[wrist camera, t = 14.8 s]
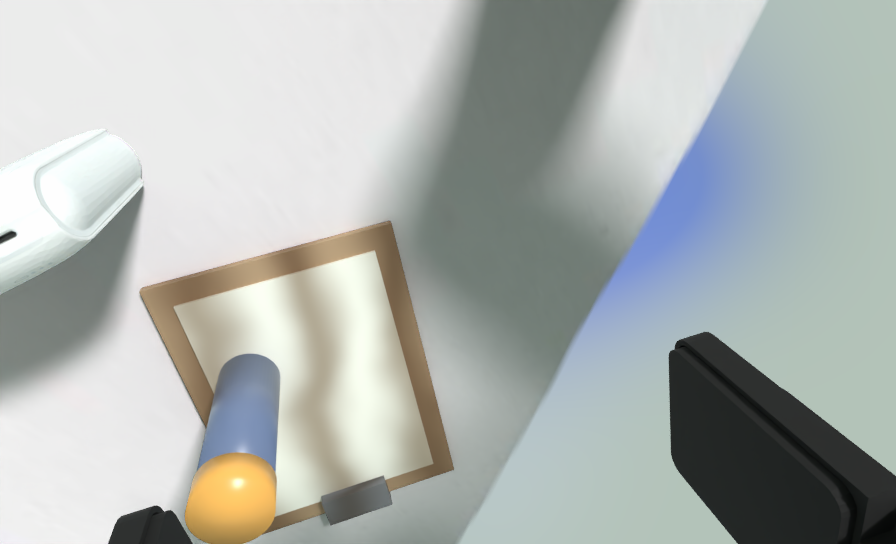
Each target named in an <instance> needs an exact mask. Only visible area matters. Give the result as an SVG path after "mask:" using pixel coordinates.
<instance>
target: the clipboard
mask: <svg viewBox="0 0 896 544" xmlns="http://www.w3.org/2000/svg"><path fill="white" fill-rule="evenodd" d="M140 294H141V296H142V298H143V300H144V302H145V305H146V307H147V309H148V311H149V313H150V315H151V317H152V319H153V321H154V323H155V325H156V327H157V329H158V331H159V333H160V335H161V337H162V339H163V341H164V343H165V345H166V347H167V349H168V351H169V353H170V355H171V357H172V359H173V361H174V363H175V365H176V367H177V369H178V371H179V373H180V375H181V377H182V380H183V382H184V384H185V386H186V388H187V390H188V392H189V394H190V396H191V398H192V400H193V402H194V404H195V406H196V408H197V410H198V412H199V414H200V416H201V418H202V420H203V422H204V424H205V426H206V428H207V425H208V420H209V416H210V412H211V407H212V403H213V398H214V394H215V390H216V385H217V381H218V377H219V373H220V370H221V368H222V367H223V365H224V364H225V363H226V362H227V361H229V360H230V359H232V358H233V357H235V356H238V355H242V354H259V355H262V356H265V357H267V358H269V359H270V360H271V361H273V362H274V363H275V364H276V366H277V367H278V369H279V372H280V397H279V416H278V435H277V454H276V477H277V492H276V512H275V517H274V520H273V522H272V524H271V525H270V527H269V528H268V529H267V530H266V531H265V532H264V533H263V534H265V533H268V532H271V531H274V530H277V529H280V528H283V527H286V526H289V525H292V524H295V523H298V522H301V521H304V520H306V519H309V518H312V517H315V516H318V515H321V514H324V513H326V515H327V518H328V520H329V523H330V525H333V524H336V523H339V522H342V521H345V520H348V519H351V518H354V517H357V516H360V515H363V514H365V513H368V512H371V511H374V510H377V509H380V508H383V507H386V506H389V505H392V500H391V495H390V492H389V491H392V490H395V489H398V488H401V487H404V486H407V485H410V484H413V483H416V482H419V481H422V480H425V479H428V478H431V477H434V476H437V475H440V474H443V473H446V472H449V471H452V470H454V467H453V463H452V459H451V455H450V451H449V448H448V444H447V440H446V436H445V432H444V428H443V424H442V420H441V416H440V412H439V408H438V404H437V400H436V397H435V393H434V389H433V385H432V381H431V377H430V373H429V369H428V365H427V361H426V357H425V353H424V349H423V346H422V342H421V338H420V334H419V330H418V326H417V322H416V318H415V314H414V310H413V306H412V302H411V298H410V295H409V291H408V287H407V283H406V279H405V275H404V271H403V267H402V263H401V259H400V255H399V251H398V248H397V244H396V240H395V236H394V232H393V228H392V224H391V222H390V221H387V222H383V223H380V224H376V225H372V226H368V227H365V228H361V229H357V230H354V231H350V232H346V233H343V234H339V235H335V236H332V237H328V238H324V239H320V240H317V241H313V242H309V243H306V244H302V245H298V246H295V247H291V248H287V249H283V250H280V251H276V252H272V253H269V254H265V255H261V256H258V257H254V258H250V259H247V260H243V261H239V262H235V263H232V264H228V265H224V266H221V267H217V268H213V269H210V270H206V271H202V272H199V273H195V274H191V275H187V276H184V277H180V278H176V279H173V280H169V281H165V282H162V283H158V284H154V285H151V286H147V287H143V288H141V290H140Z"/></svg>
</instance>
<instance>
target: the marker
mask: <svg viewBox="0 0 896 544" xmlns="http://www.w3.org/2000/svg"><path fill="white" fill-rule="evenodd" d="M279 397H280V372H279V369H278V367H277V366H276V364H275V363H274V362H273V361H271V360H270V359H269V358H267V357H265V356H262V355H259V354H242V355H238V356H235V357H233V358H232V359H230V360H229V361H227V362H226V363H225V364H224V365H223V367H222V368H221V370H220V373H219V377H218V381H217V385H216V390H215V394H214V398H213V403H212V407H211V412H210V416H209V420H208V425H207V429H206V433H205V438H204V442H203V446H202V451H201V455H200V460H199V464H198V468H197V472H196V473H195V475H194V478H193V481H192V485H191V489H190V494H189V498H188V502H187V506H186V511H185V521H186V525H187V527H188V529H189V530H190V532H191V533H192V534H193V535H194V536H196V537H197V538H198V539H200V540H202V541H204V542H206V543H209V544H243V543H246V542H249V541H251V540H253V539H255V538H257V537H259V536H260V535H262V534H263V533H264V532H265V531H266V530H267V529H268V528H269V527H270V525H271V524H272V522H273V520H274V517H275V512H276V492H277V477H276V454H277V435H278V416H279Z"/></svg>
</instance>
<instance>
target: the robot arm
mask: <svg viewBox="0 0 896 544" xmlns="http://www.w3.org/2000/svg"><path fill="white" fill-rule="evenodd" d="M669 383H670V384H669V386H670V427H671V428H670V429H671V455H672V459H673V462H674V464H675V466H676V468H677V470H678V471H679V473H680V474H681V475H682V476H683V477H684V479H685V480H686V481H687V482H688V484H689V485H690V486H691V487H692V488H693V490H694V491H695V492H696V493H697V495H698V496H699V497H700V498H701V499H702V501H703V502H704V503H705V504H706V506H707V507H708V508H709V509H710V510H711V512H712V513H713V514H714V515H715V516H716V518H717V519H718V520H719V521H720V523H721V524H722V525H723V526H724V527H725V529H726V530H727V531H728V532H729V534H730V535H731V536H732V537H733V538H734V540H735V541H736V542H737V543H738V544H896V476H895V475H893V474H892V473H891V472H889V471H888V470H887V469H886V468H885V467H883V466H882V465H881V464H880V463H878V462H877V461H876V460H874V459H873V458H872V457H871V456H869V455H868V454H867V453H865V452H864V451H863V450H861V449H860V448H859V447H858V446H856V445H855V444H854V443H852V442H851V441H850V440H848V439H847V438H846V437H845V436H844V435H842V434H841V433H839V432H838V431H837V430H836V429H834V428H833V427H832V426H831V425H829V424H828V423H827V422H826V421H824V420H823V419H822V418H821V417H819V416H818V415H817V414H815V413H814V412H813V411H812V410H810V409H809V408H807V407H806V406H805V405H804V404H803V403H801V402H800V401H799V400H797V399H796V398H795V397H794V396H792V395H791V394H790V393H788V392H787V391H785V390H784V389H782V388H780V387H779V386H778V385H777V384H775V383H774V382H773V381H771V380H770V379H769V378H768V377H766V376H765V375H764V374H762V373H761V372H760V371H759V370H757V369H756V368H755V367H754V366H752V365H751V364H750V363H748V362H747V361H746V360H745V359H743V358H742V357H741V356H739V355H738V354H737V353H736V352H734V351H733V350H732V349H731V348H729V347H728V346H727V345H726V344H724V343H723V342H722V341H720V340H719V339H718V338H717V337H715V336H714V335H713V334H711V333H709V332H703V333H700V334H697V335H693V336H690V337H687V338H684V339H681V340H679V341H677V343H676V345H675V350H672V351H670V353H669ZM108 544H193V543H192V542H191V540H190V538H189V537H188V535H187V533H186V532H185V530H184V528H183V527H182V525H181V523H180V522H179V520H178V518H177V516H176V515H175V514H174V512H173V511H171V510H169V511H165V512H164V511H163V510H162V509H161V507H159V506H152V507H149V508H146V509H143V510H140V511H136V512H133V513H130V514H127V515H124V516H121V517H120V518H119V519H118V520H117V522H116V524H115V526H114V529H113V532H112V535H111V537H110V540H109V543H108Z"/></svg>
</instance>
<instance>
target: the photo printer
mask: <svg viewBox="0 0 896 544" xmlns="http://www.w3.org/2000/svg"><path fill="white" fill-rule="evenodd" d="M141 172H142V169H141V163H140V160H139V158H138V156H137V154H136V152H135V151H134V149H133V148H132V147H131V146H130V145H129V144H128V143H127V142H126V141H124V140H123V139H121V138H120V137H118V136H116V135H113V134H109V132H108V131H107V129H98V130H93V131H89V132H85V133H81V134H78V135H76V136H73V137H70V138H68V139H66V140H61V141H60V142H58V143H56V144H53V145H51V146H49V147H46V148H44V149H42V150H40V151H37V152H35V153H33V154H31V155H28V156H26V157H24V158H22V159H20V160H18V161H15V162H13V163H11V164H9V165H7V166H5V167H2V168H0V294H2V293H4V292H7V291H9V290H11V289H13V288H15V287H17V286H19V285H21V284H22V283H24V282H26V281H28V280H30V279H32V278H34V277H36V276H38V275H40V274H41V273H43V272H45V271H47V270H49V269H50V268H52V267H54V266H56V265H58V264H59V263H61V262H63V261H65V260H66V259H68V258H69V257H71V256H72V255H74V254H75V253H77V252H78V251H79V250H81V249H82V248H83V247H84V246H86V245H87V244H88V243H89V242H90V241H91V240H92V239H93V238H95V236H96V235H97V234H98V233H99V232H100V231H101V230H102V229H103V228H104V227H105V226H106V225H107V224H108V223H109V222H110V221H111V220H112V219H113V218H114V217H115V216H116V215H117V214H118V213H119V211H120V210H121V209H122V208H123V207H124V206H125V205H126V204H127V203H128V202H129V201H130V200H131V199H132V198H133V197H134V195H135V194H136V193H137V192H138V191H139V190H140V189H141V188H142V186H143V183H144V182H143V180H142V179H141Z"/></svg>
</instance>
